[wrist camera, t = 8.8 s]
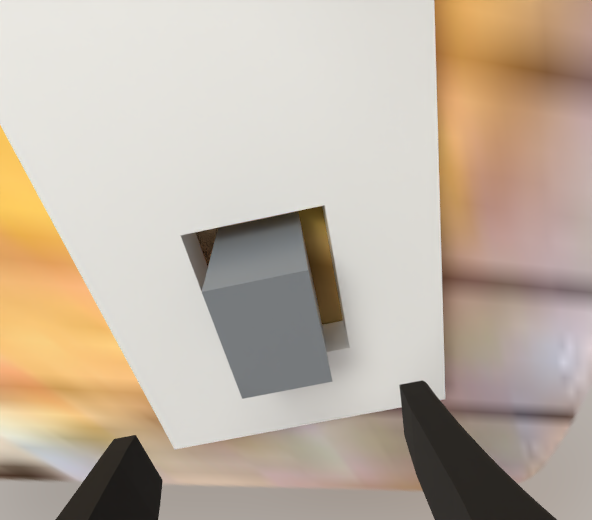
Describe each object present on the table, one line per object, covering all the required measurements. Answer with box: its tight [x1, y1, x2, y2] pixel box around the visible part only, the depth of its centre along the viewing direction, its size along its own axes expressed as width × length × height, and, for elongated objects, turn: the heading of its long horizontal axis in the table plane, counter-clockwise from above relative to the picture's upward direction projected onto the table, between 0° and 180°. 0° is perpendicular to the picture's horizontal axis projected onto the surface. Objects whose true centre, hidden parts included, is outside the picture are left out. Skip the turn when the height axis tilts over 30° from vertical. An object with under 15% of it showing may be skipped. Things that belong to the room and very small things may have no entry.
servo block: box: [202, 211, 333, 399], centre depth 17 cm, size 5×4×5 cm
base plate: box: [0, 0, 445, 449], centre depth 17 cm, size 20×14×2 cm
